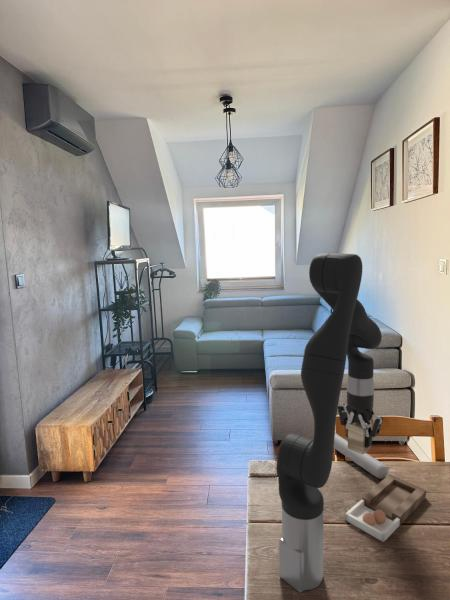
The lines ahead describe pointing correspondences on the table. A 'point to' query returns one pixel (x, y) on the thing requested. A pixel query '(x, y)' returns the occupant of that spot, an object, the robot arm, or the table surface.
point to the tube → (361, 458)
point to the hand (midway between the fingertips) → (358, 443)
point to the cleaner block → (357, 438)
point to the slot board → (394, 498)
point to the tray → (377, 530)
